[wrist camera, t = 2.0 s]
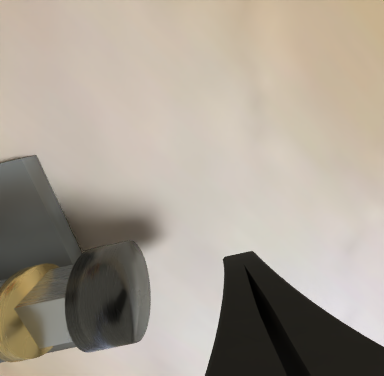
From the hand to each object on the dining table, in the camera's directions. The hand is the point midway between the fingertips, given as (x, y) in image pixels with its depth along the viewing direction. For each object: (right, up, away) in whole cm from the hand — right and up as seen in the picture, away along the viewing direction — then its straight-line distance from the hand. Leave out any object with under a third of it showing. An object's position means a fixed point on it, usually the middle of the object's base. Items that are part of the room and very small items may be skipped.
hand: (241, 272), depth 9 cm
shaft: (-14, -2, +3) cm, 14 cm away
